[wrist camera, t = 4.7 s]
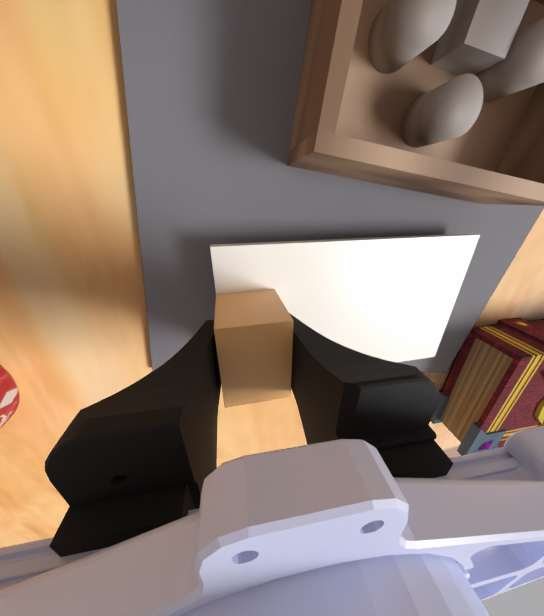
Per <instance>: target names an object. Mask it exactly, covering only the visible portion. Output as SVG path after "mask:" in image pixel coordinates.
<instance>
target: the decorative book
mask: <svg viewBox="0 0 544 616" xmlns="http://www.w3.org/2000/svg"><path fill="white" fill-rule="evenodd" d="M430 421H431V422H432V423H433V424H435V423H440V422H442V423H443V424H444V425H445V426H446V427H447V428H448V429H449V430H450V431H451V432H452V433H453V434H454V435H455V437H456V438H457V439H458V440H459V441H460V442H461V444H460V446H459V448H458V450H457V451H458V452H459V453H460V454H461V456H463V455H468V454H473V453H478V452H483V451H488V450H493V449H498V448H501V447H504V444H505V442H506V440H507V439H508V438H509V437H510V436H511V435H512V434H513V433H515V432H517V431H520V430H524V429H530V428H535V427H540V426H544V319H542V320H534V321H526V320H524V319H522V318H512V319H504V320H499V321H498V323H497V325H492V326H484V327H476V328H472V329H471V331H470V333H469V334H468V336H467V338H466V339H465V341H464V343H463V344H462V346H461V349H460V351H459V353H458V356H457V358H456V360H455V363H454V365H453V367H452V370H451V372H450V374H449V377H448V379H447V381H446V384H445V386H444V388H443V391H442V392H439V400H438V403H437V407H436V409H435V411H434V413H433V416H432V418H431V420H430Z"/></svg>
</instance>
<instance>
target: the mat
mask: <svg viewBox="0 0 544 616" xmlns="http://www.w3.org/2000/svg"><path fill="white" fill-rule="evenodd" d="M311 1H312V0H116V5H117V15H118V25H119V36H120V46H121V56H122V66H123V76H124V86H125V97H126V107H127V117H128V127H129V137H130V147H131V158H132V168H133V178H134V188H135V198H136V208H137V218H138V229H139V239H140V249H141V259H142V269H143V279H144V290H145V300H146V310H147V320H148V330H149V340H150V351H151V361H152V371H154V370H156V369H157V368H158V367H160V366H161V365H163V364H164V363H165V362H166V361H168V360H169V359H170V358H171V357H173V356H174V355H175V354H176V353H177V352H178V351H179V350H180V349H181V348H182V347H183V346H184V345H185V344H186V343H187V342H188V341H189V340H190V339H191V338H192V337H193V336H194V334H195V333H196V332H197V331H198V330H199V329H200V327H201V326H202V325H203V324H204V322H205V321H206V320H214V318H215V302H216V290H215V282H214V274H213V266H212V258H211V250H210V245H215V244H238V243H261V242H284V241H308V240H331V239H354V238H377V237H401V236H424V235H447V234H477V235H480V237H479V240H478V242H477V245H476V248H475V250H474V253H473V256H472V258H471V261H470V264H469V266H468V269H467V272H466V274H465V277H464V280H463V282H462V285H461V288H460V290H459V293H458V296H457V298H456V301H455V304H454V306H453V309H452V312H451V315H450V317H449V320H448V323H447V325H446V328H445V331H444V333H443V336H442V339H441V341H440V344H439V347H438V349H437V352H436V355H435V357H430V358H423V359H417V360H410V361H403V362H397V363H401V364H406V365H411V366H416V367H417V368H418V369H419V370H420V371H421V372H446V371H447V369H448V368H449V366H450V364H451V363H452V361H453V359H454V358H455V356H456V354H457V353H458V351H459V349H460V348H461V346H462V344H463V343H464V341H465V339H466V338H467V336H468V334H469V333H470V331H471V329H472V328H473V326H474V324H475V323H476V321H477V319H478V317H479V316H480V314H481V312H482V311H483V309H484V307H485V306H486V304H487V302H488V301H489V299H490V297H491V296H492V294H493V292H494V291H495V289H496V287H497V286H498V284H499V282H500V281H501V279H502V277H503V276H504V274H505V272H506V271H507V269H508V267H509V265H510V264H511V262H512V260H513V259H514V257H515V255H516V254H517V252H518V250H519V249H520V247H521V245H522V244H523V242H524V240H525V239H526V237H527V235H528V234H529V232H530V230H531V229H532V227H533V225H534V224H535V222H536V220H537V218H538V217H539V215H540V213H541V212H542V210H543V208H544V206H538V205H505V204H478V203H473V202H468V201H463V200H458V199H452V198H447V197H442V196H437V195H432V194H427V193H422V192H417V191H412V190H407V189H402V188H397V187H392V186H387V185H382V184H377V183H372V182H367V181H362V180H356V179H351V178H346V177H341V176H336V175H331V174H326V173H321V172H316V171H311V170H306V169H301V168H296V167H291V166H287V164H288V157H289V150H290V143H291V137H292V130H293V123H294V116H295V109H296V103H297V96H298V89H299V82H300V76H301V69H302V62H303V55H304V49H305V42H306V35H307V28H308V22H309V15H310V8H311Z"/></svg>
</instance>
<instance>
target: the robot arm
mask: <svg viewBox="0 0 544 616" xmlns="http://www.w3.org/2000/svg"><path fill="white" fill-rule="evenodd" d="M289 314H290V313H289ZM290 316H291V317H292V319H293V321H294V322H293V349H292V376H291V388H292V391H293V394H294V396H295V399H296V402H297V405H298V409H299V413H300V417H301V420H302V424H303V428H304V432H305V436H306V440H307V444H308V445H304V446H298V447H293V448H287V449H281V450H275V451H269V452H264V453H258V454H252V455H246V456H242V457H239V458H236V459H233V460H231V461H228V462H225V463H223V464H221V465H220V466H219V467H218V468H217V469H216V458H217V415H218V405H219V397H220V389H221V377H220V370H219V363H218V356H217V349H216V341H215V334H214V320H206V321H205V322H204V324H203V325H202V326H201V327H200V329H199V330H198V331H197V332H196V333H195V334H194V336H193V337H192V338H191V339H190V340H189V341H188V342H187V343H186V344H185V345H184V346H183V347H182V348H181V349H180V350H179V351H178V352H177V353H176V354H175V355H174V356H173V357H171V358H170V359H169V360H168V361H166V362H165V363H164V364H163V365H161V366H160V367H158V368H157V369H156V370H154V371H153V372H151V373H150V374H148V375H147V376H145V377H144V378H142V379H141V380H139V381H137V382H136V383H134V384H132V385H130V386H129V387H127V388H125V389H123V390H121V391H119V392H118V393H116V394H114V395H112V396H110V397H108V398H105V399H103V400H101V401H99V402H97V403H95V404H93V405H91V406H89V407H86V408H84V409H82V410H80V411H79V413H78V414H77V415H76V417H75V418H74V419H73V421H72V422H71V424H70V425H69V426H68V428H67V429H66V431H65V432H64V434H63V435H62V436H61V438H60V439H59V441H58V442H57V444H56V445H55V447H54V448H53V449H52V451H51V452H50V454H49V456H48V458H47V459H46V461H45V472H46V474H47V476H48V478H49V480H50V482H51V483H52V484H53V485H54V487H55V488H56V489H57V490H58V492H59V493H60V494H61V495H62V497H63V498H64V499H65V500H66V502H67V503H68V504H69V506H70V507H69V509H68V511H67V513H66V515H65V517H64V518H63V520H62V522H61V524H60V526H59V528H58V530H57V532H56V534H55V536H54V537H53V538H48V539H43V540H38V541H33V542H28V543H23V544H18V545H13V546H8V547H3V548H0V616H489V614H488V612H487V611H486V609H485V608H484V606H483V604H482V603H481V601H482V600H485V599H488V598H490V597H493V596H495V595H498V594H501V593H503V592H506V591H508V590H511V589H514V588H516V587H519V586H522V585H524V584H527V583H529V582H532V581H535V580H537V579H540V578H543V577H544V426H540V427H535V428H530V429H524V430H520V431H517V432H515V433H513V434H512V435H511V436H510V437H509V438H508V439H507V440H506V442H505V444H504V447H503V448H498V449H493V450H488V451H483V452H478V453H473V454H468V455H463V456H458V457H453V458H448V457H447V455H446V454H445V453H444V452H443V450H442V449H441V448H440V447H439V446H438V444H437V443H436V442H435V441H434V440H433V439H436V437H437V436H436V433H435V432H434V431H433V430H432V429H431V428H430V426H429V425H428V424H429V422H430V420H431V418H432V416H433V413H434V411H435V409H436V407H437V403H438V400H439V390H438V388H437V387H436V385H435V384H434V383H433V382H432V381H431V380H430V379H429V378H428V377H427V376H426V375H424V374H423V373H422V372H421V371H420V370H419V369H418V368H417V367H416V366H411V365H406V364H401V363H397V362H392V361H387V360H384V359H380V358H376V357H373V356H370V355H366V354H363V353H360V352H358V351H355V350H352V349H350V348H347V347H345V346H343V345H340V344H338V343H336V342H334V341H332V340H330V339H328V338H326V337H325V336H323V335H321V334H319V333H318V332H316V331H315V330H313V329H311V328H310V327H309V326H307V325H306V324H304V323H303V322H301V321H300V320H299V319H297V318H296V317H294V316H293V315H291V314H290Z"/></svg>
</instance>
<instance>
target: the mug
mask: <svg viewBox="0 0 544 616" xmlns="http://www.w3.org/2000/svg"><path fill="white" fill-rule="evenodd" d="M18 404H19V392H18V388H17V385H16V384H15V382H14V380H13V379H12V377H11V376H10V374H9V373H8V372H7V371H6V370H5V369H4V368H3V367H1V366H0V428H1V427H2V426H3V425H4V424H5V423H6V422H7V421H8V420H9V418H10V417H11V416H12V415H13V414H14V412H15V411H16V409H17V407H18Z"/></svg>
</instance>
